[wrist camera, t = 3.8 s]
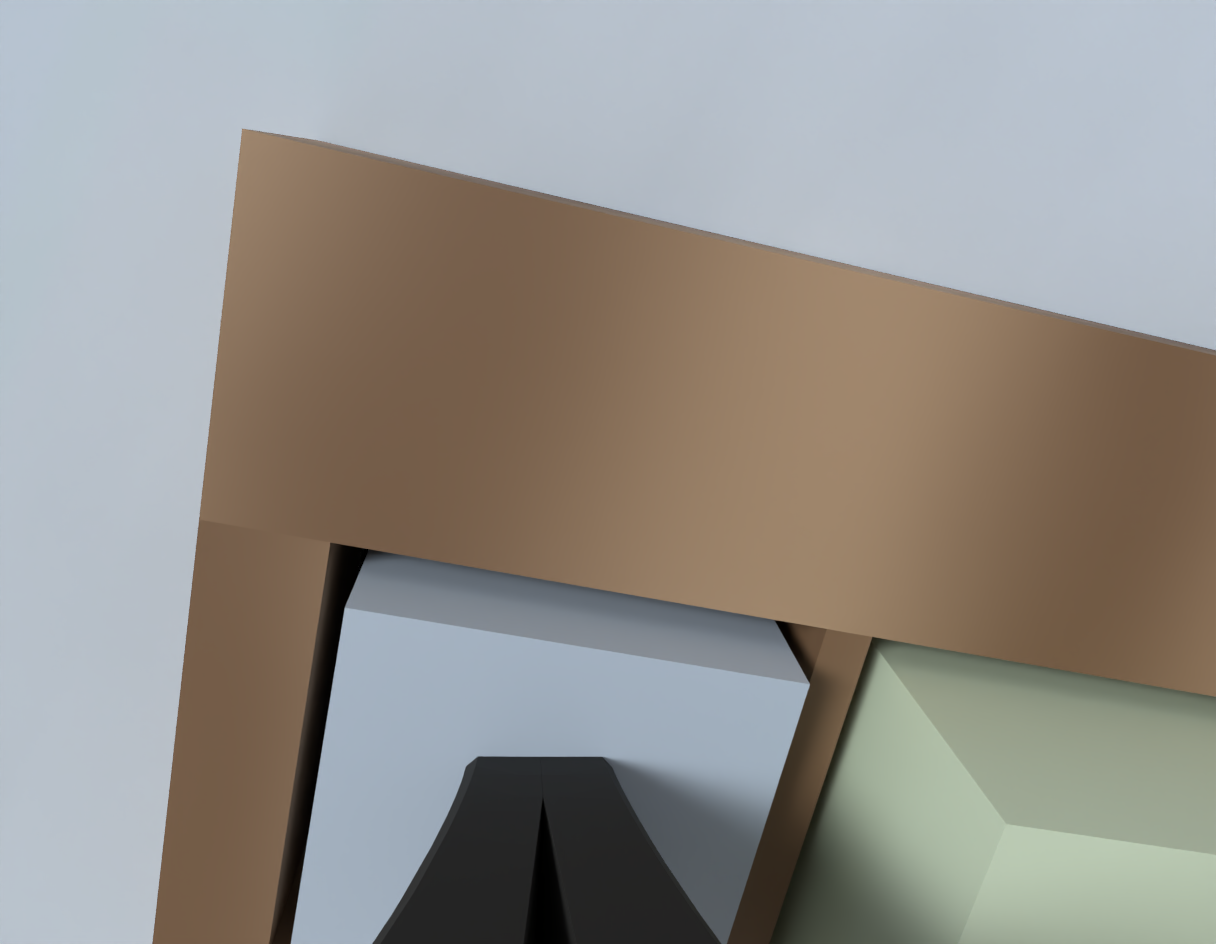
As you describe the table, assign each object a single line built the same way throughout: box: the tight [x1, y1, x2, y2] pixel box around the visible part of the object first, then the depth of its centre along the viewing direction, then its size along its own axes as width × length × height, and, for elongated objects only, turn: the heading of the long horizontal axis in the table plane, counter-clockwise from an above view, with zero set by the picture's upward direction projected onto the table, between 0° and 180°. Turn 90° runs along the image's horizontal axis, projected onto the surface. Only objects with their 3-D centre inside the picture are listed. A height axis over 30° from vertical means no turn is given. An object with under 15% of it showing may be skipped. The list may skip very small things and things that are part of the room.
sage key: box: [769, 637, 1216, 944], centre depth 10 cm, size 4×4×3 cm
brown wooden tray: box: [153, 129, 1216, 944], centre depth 12 cm, size 18×12×3 cm, turn 77°
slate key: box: [291, 549, 810, 944], centre depth 11 cm, size 4×4×3 cm
